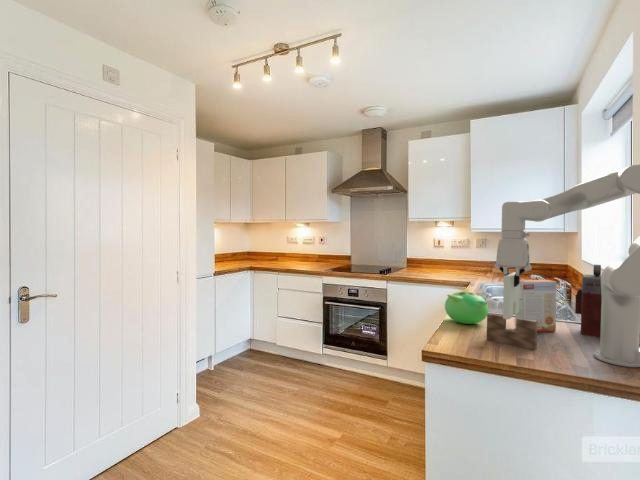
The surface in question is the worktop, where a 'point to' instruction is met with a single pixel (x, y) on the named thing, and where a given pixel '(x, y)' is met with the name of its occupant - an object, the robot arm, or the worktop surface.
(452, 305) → the toy bird
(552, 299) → the cracker box
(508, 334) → the walnut board
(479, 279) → the worktop surface
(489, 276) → the worktop surface
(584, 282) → the dark red canister
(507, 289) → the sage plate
